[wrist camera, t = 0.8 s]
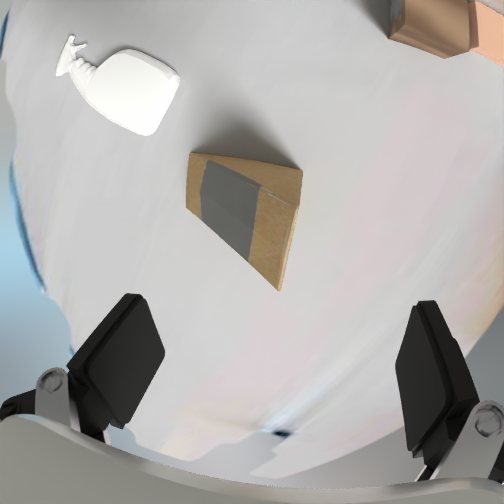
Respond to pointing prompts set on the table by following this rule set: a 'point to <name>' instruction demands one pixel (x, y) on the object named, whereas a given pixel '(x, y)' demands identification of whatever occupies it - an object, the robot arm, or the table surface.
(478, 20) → the peach flat block
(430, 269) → the table surface
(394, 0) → the wooden bridge block
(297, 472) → the table surface
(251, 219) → the sandwich container
